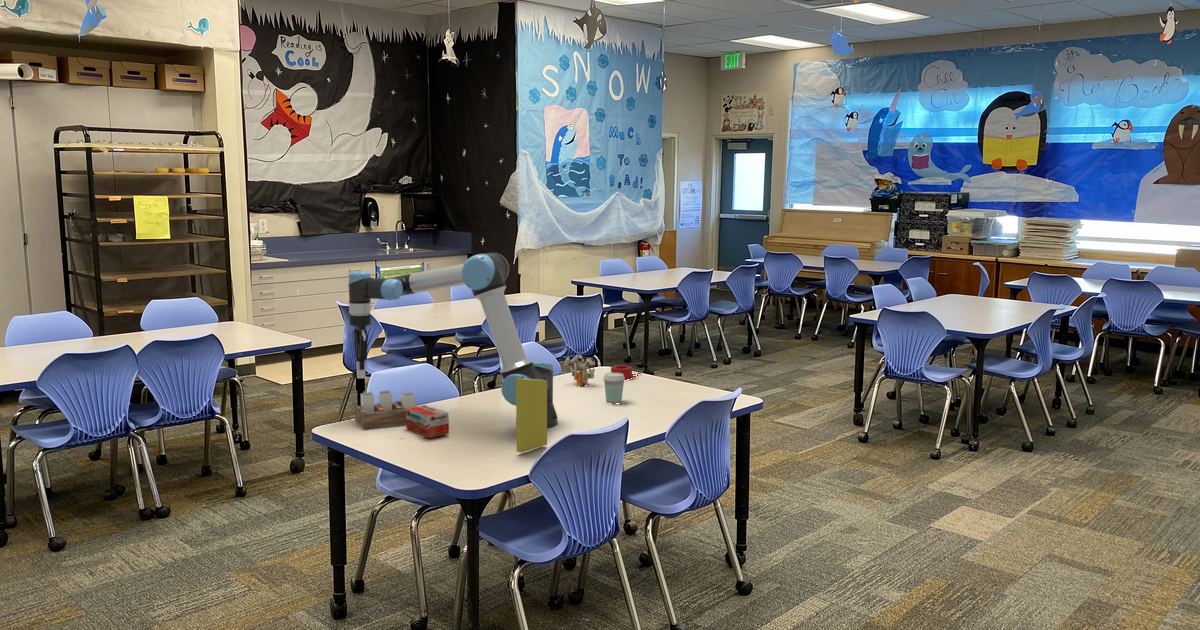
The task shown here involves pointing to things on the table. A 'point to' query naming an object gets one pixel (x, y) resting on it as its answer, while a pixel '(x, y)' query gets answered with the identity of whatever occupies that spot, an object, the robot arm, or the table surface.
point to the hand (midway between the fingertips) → (361, 377)
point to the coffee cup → (614, 387)
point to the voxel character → (583, 374)
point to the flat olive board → (531, 414)
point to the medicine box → (427, 421)
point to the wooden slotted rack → (381, 417)
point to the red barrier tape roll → (623, 371)
